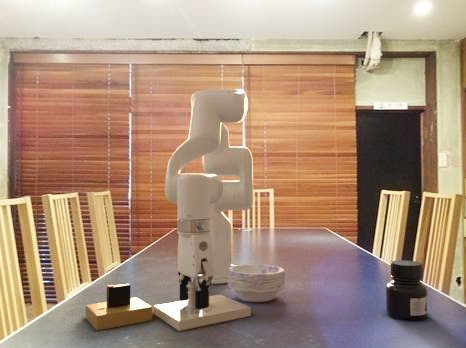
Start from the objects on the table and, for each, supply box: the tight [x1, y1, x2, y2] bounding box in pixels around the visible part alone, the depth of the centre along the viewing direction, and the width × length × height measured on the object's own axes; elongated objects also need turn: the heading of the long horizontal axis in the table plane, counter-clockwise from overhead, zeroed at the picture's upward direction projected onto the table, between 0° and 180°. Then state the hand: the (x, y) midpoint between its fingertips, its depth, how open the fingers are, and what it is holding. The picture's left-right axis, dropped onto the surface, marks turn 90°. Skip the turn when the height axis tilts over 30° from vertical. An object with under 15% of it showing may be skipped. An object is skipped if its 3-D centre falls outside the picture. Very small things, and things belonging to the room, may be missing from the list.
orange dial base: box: [85, 296, 153, 331], centre depth 97 cm, size 12×10×3 cm
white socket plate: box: [153, 294, 251, 332], centre depth 100 cm, size 18×14×2 cm
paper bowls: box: [227, 263, 286, 303], centre depth 114 cm, size 15×15×8 cm
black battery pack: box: [106, 283, 131, 308], centre depth 97 cm, size 5×2×5 cm, turn 123°
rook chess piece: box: [185, 279, 203, 311], centre depth 99 cm, size 4×4×8 cm
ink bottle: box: [385, 259, 428, 321], centre depth 99 cm, size 10×9×12 cm
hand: (194, 303), depth 99 cm, fingers open, 7 cm apart
